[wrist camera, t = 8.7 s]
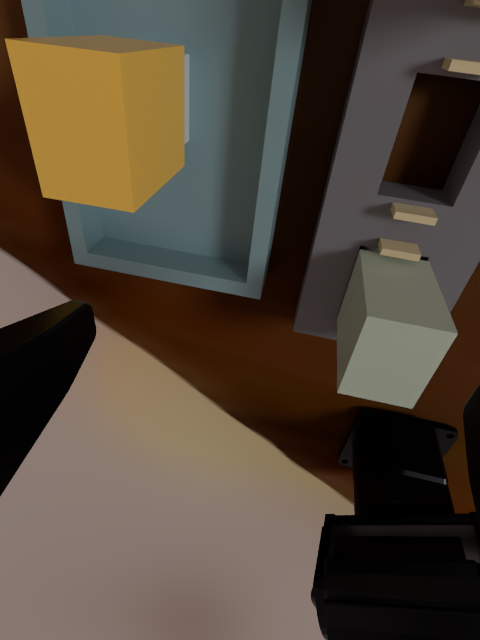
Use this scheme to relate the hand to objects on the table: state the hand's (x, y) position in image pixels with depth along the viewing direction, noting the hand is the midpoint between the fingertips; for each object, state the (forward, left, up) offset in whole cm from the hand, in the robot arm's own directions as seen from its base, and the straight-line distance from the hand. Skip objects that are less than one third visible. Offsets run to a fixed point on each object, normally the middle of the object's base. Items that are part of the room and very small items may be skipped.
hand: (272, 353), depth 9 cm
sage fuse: (-4, -4, -12) cm, 13 cm away
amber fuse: (+3, +6, -11) cm, 13 cm away
